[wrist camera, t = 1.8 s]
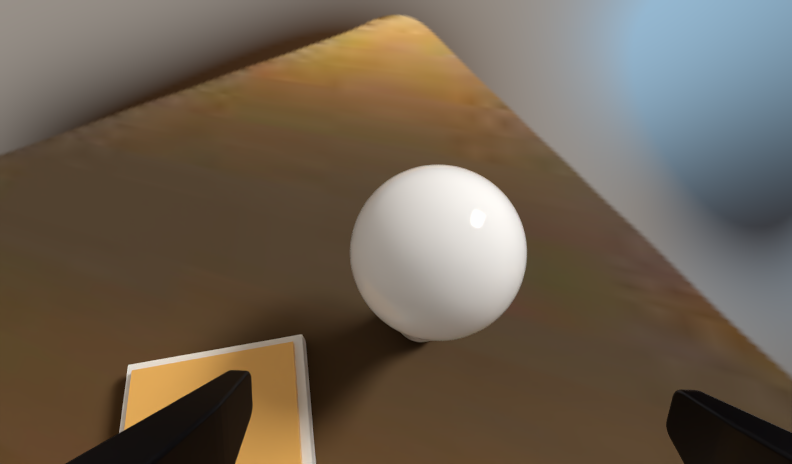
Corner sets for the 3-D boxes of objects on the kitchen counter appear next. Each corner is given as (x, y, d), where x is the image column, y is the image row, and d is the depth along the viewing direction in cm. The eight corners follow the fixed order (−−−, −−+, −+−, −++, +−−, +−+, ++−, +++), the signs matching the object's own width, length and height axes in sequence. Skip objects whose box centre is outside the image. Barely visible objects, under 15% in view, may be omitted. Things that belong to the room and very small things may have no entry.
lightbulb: (448, 408, 20) (512, 345, 10) (336, 344, 21) (300, 236, 12) (496, 298, 23) (579, 172, 13) (395, 249, 24) (404, 102, 14)
